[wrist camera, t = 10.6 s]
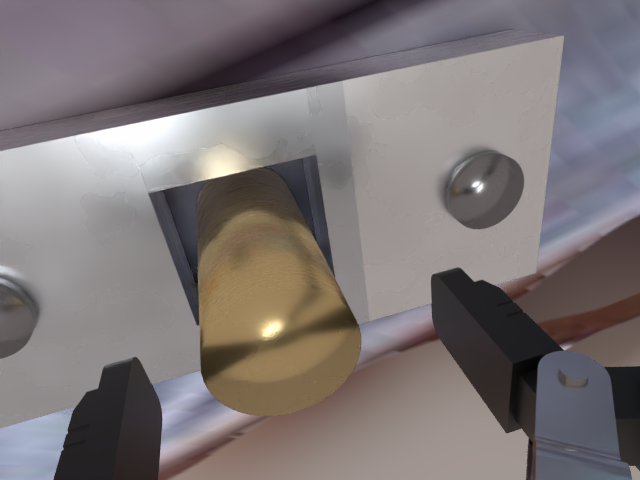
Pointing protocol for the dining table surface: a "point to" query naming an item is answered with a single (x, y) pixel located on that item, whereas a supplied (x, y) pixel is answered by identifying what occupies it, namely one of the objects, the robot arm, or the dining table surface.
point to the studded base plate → (255, 152)
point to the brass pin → (267, 300)
